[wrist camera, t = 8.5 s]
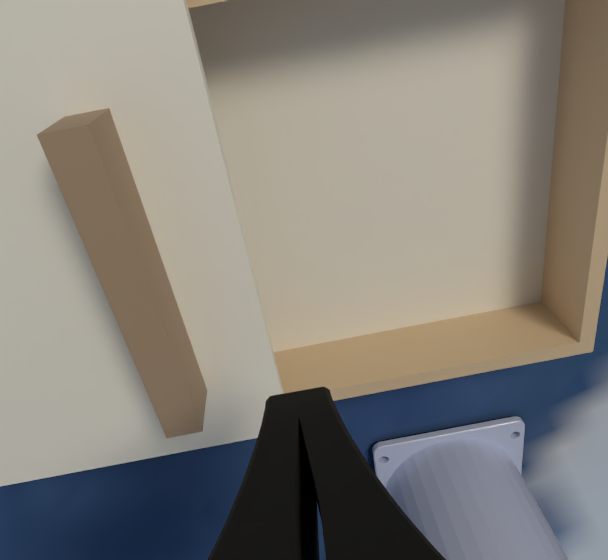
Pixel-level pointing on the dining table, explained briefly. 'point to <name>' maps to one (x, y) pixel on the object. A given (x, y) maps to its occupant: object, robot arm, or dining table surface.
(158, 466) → the dining table surface
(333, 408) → the robot arm
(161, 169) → the mailer lid
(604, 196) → the box
